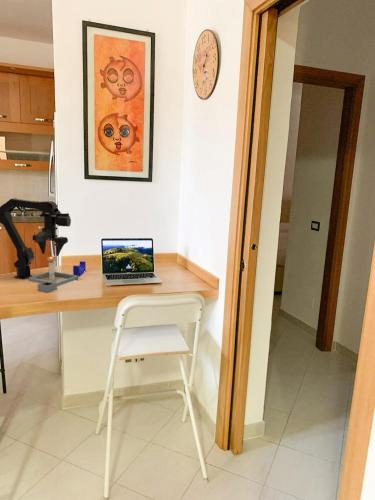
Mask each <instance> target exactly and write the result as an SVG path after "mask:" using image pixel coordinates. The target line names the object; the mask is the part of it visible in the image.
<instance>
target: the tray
mask: <svg viewBox="0 0 375 500" xmlns="http://www.w3.org/2000/svg"><path fill="white" fill-rule="evenodd" d="M54 272H55V277H56V278H61V279H62V278H63V280H59V281H57V282H56V281H55V282H53V283H57V287H59V286H62V285H65V284H68V283H70V282H73V281H79V277H78V276H77V275H73V274H71V273H64V272H58V271H54ZM48 276H49V271H47V272H43V273H40V274H38V275H32V277H29V278H28V282H32V283H38V284H40V283H43V282H46V281H48V282H52V281H49V280H46V279H42V278H45V277H48Z"/></svg>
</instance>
